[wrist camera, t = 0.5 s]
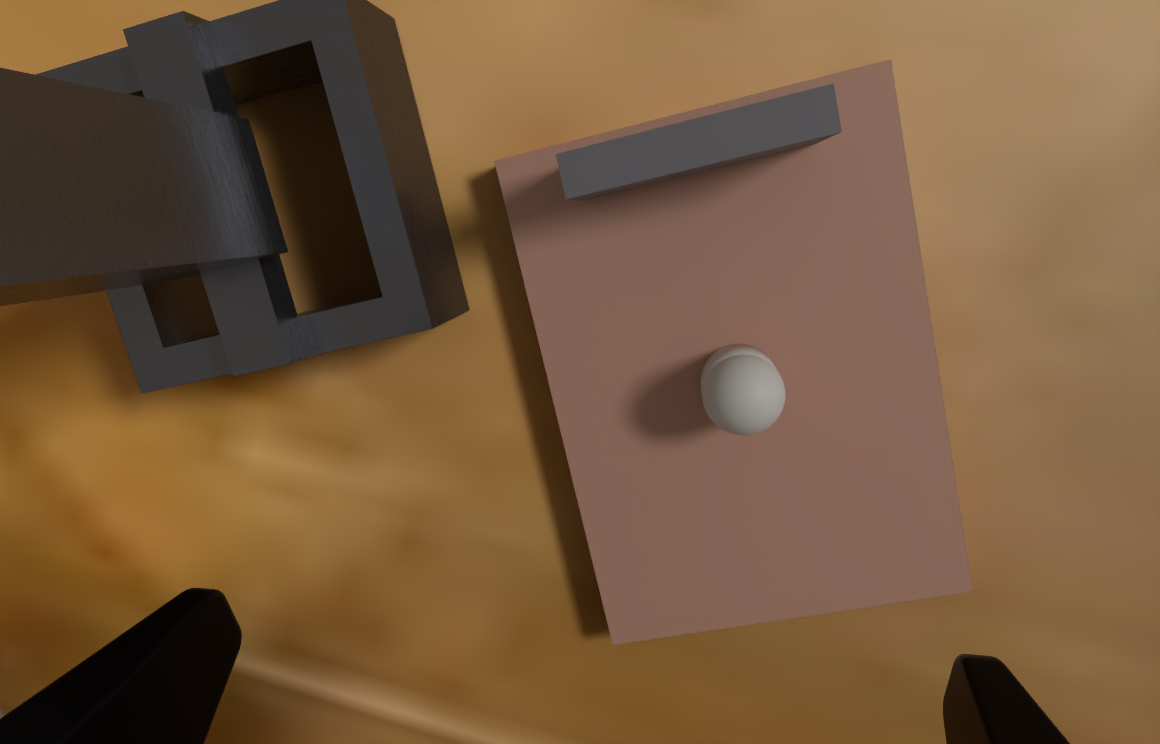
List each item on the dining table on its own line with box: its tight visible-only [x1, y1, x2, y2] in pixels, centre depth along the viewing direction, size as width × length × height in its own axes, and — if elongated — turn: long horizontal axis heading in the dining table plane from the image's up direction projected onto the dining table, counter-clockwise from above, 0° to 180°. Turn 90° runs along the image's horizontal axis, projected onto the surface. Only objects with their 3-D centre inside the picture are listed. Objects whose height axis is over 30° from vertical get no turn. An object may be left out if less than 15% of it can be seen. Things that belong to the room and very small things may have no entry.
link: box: [0, 0, 469, 394], centre depth 16 cm, size 8×8×13 cm
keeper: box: [494, 60, 973, 645], centre depth 20 cm, size 14×10×4 cm
